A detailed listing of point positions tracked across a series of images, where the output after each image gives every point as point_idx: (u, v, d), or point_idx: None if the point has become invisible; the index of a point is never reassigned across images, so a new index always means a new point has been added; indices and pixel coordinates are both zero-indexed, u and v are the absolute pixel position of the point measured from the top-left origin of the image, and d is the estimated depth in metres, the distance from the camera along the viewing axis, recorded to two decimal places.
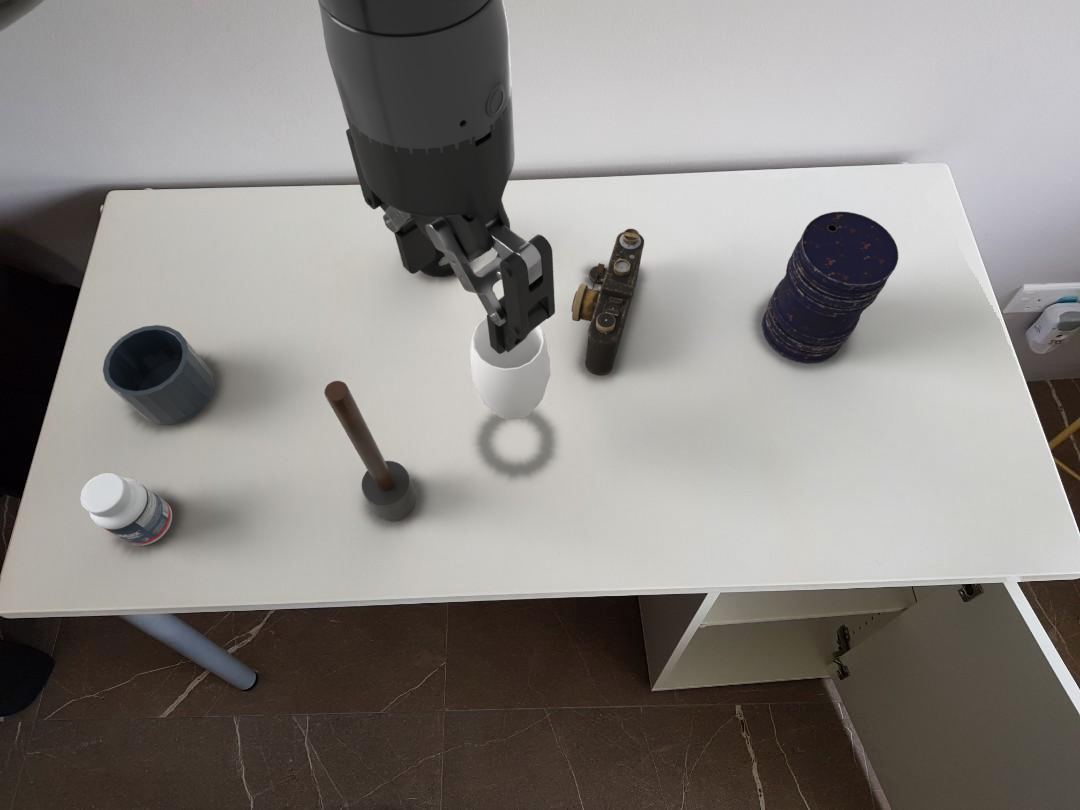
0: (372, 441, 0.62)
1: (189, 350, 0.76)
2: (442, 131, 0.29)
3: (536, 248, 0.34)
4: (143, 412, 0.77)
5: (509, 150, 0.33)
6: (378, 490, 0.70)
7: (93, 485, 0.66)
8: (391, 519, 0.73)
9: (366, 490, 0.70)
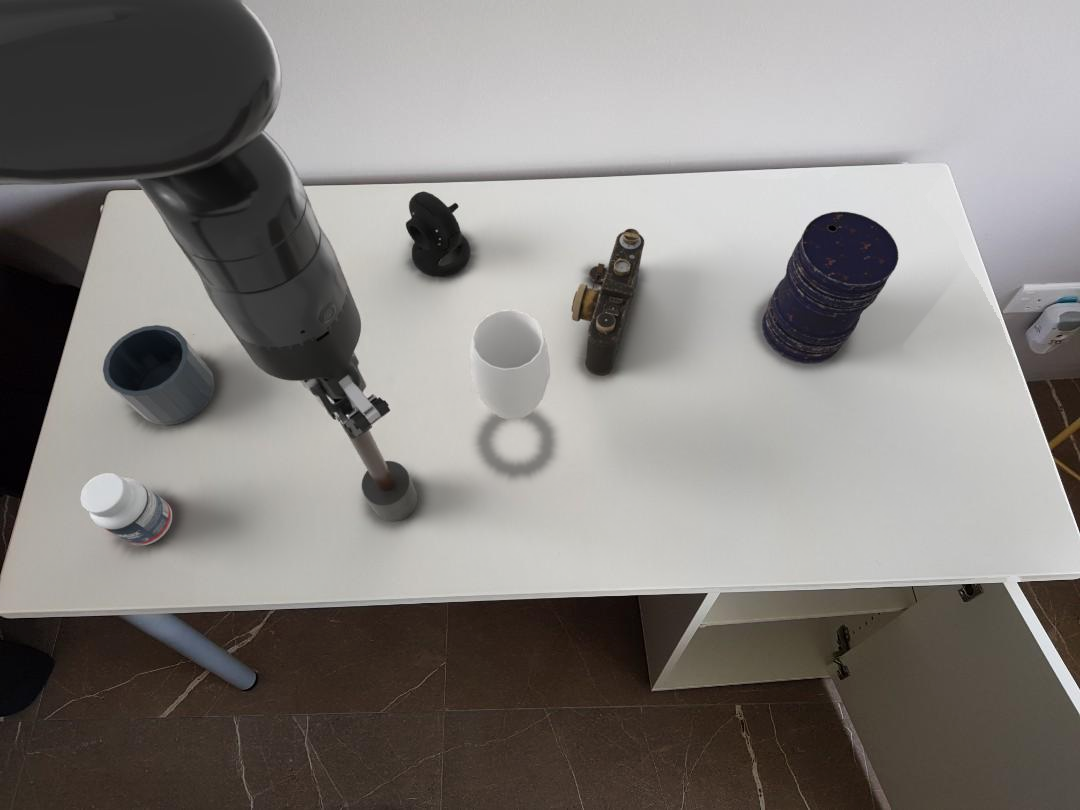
0: (372, 441, 0.62)
1: (189, 350, 0.76)
2: (288, 337, 0.41)
3: (379, 413, 0.48)
4: (143, 412, 0.77)
5: (350, 333, 0.45)
6: (378, 490, 0.70)
7: (93, 485, 0.66)
8: (391, 520, 0.73)
9: (366, 490, 0.70)
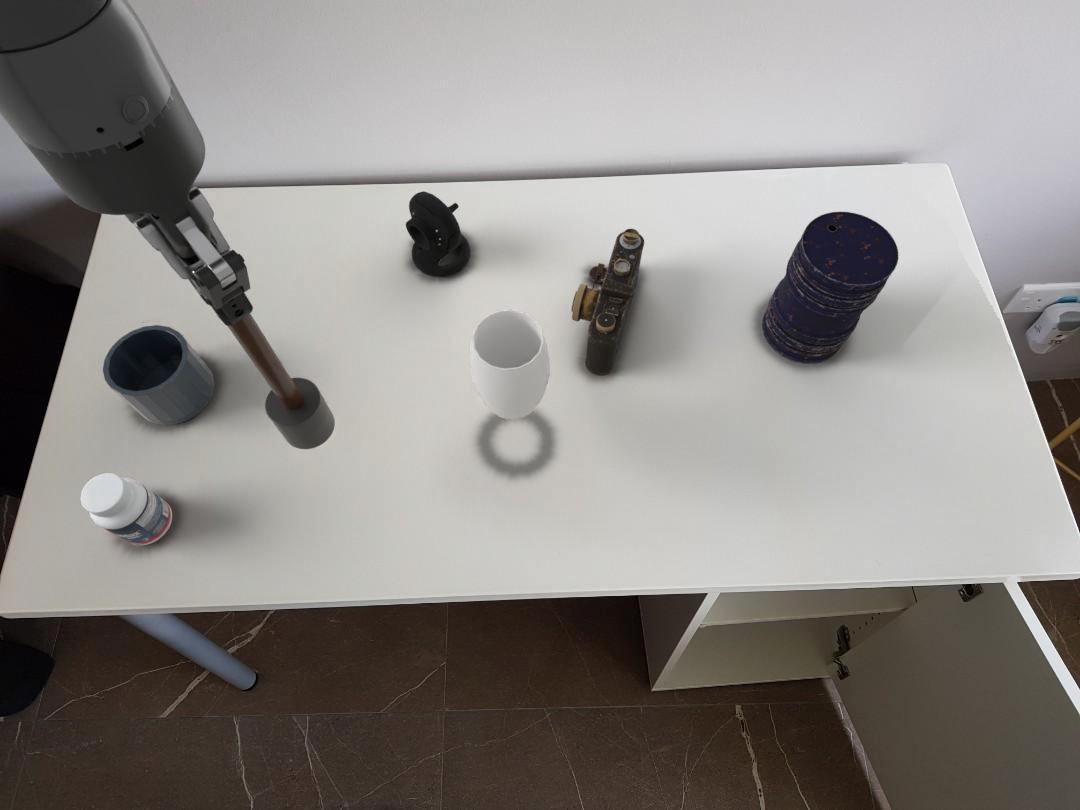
0: (261, 338, 0.53)
1: (189, 350, 0.76)
2: (80, 137, 0.32)
3: (230, 267, 0.39)
4: (143, 412, 0.77)
5: (183, 154, 0.36)
6: (283, 409, 0.61)
7: (93, 485, 0.66)
8: (303, 447, 0.64)
9: (269, 409, 0.61)
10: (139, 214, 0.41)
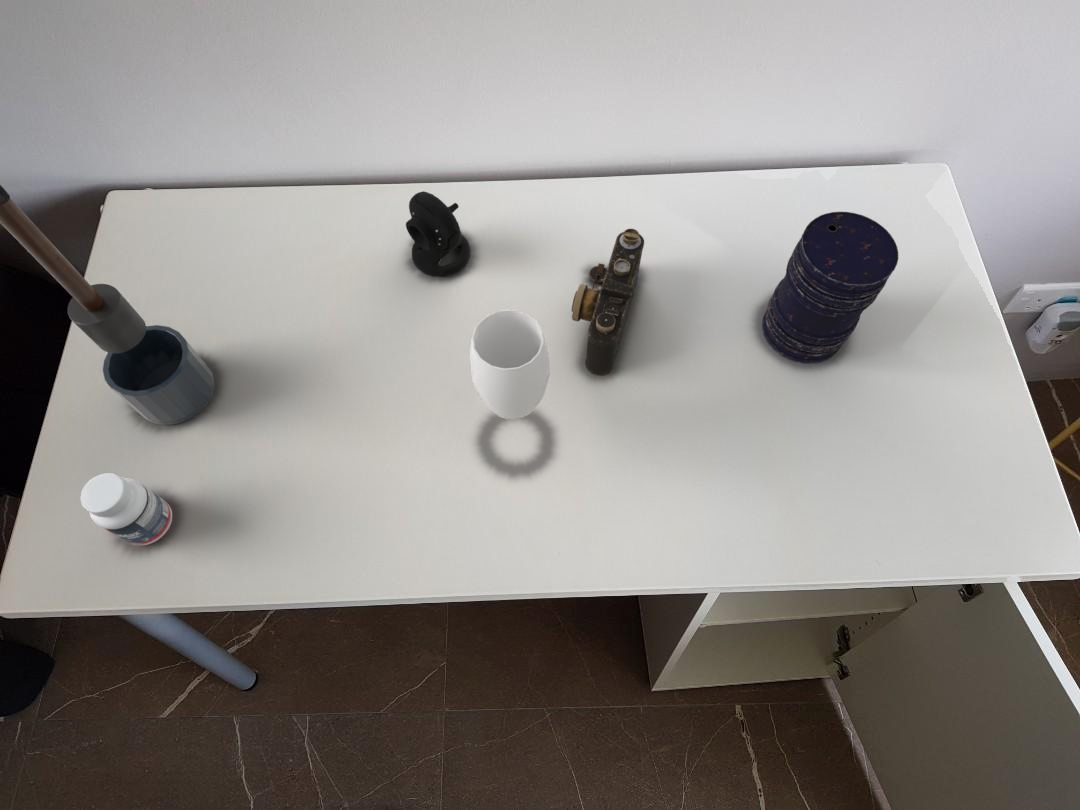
0: (34, 231, 0.57)
1: (189, 350, 0.76)
2: None
3: None
4: (143, 412, 0.77)
5: None
6: (84, 310, 0.66)
7: (93, 485, 0.66)
8: (112, 350, 0.69)
9: (71, 311, 0.66)
10: None
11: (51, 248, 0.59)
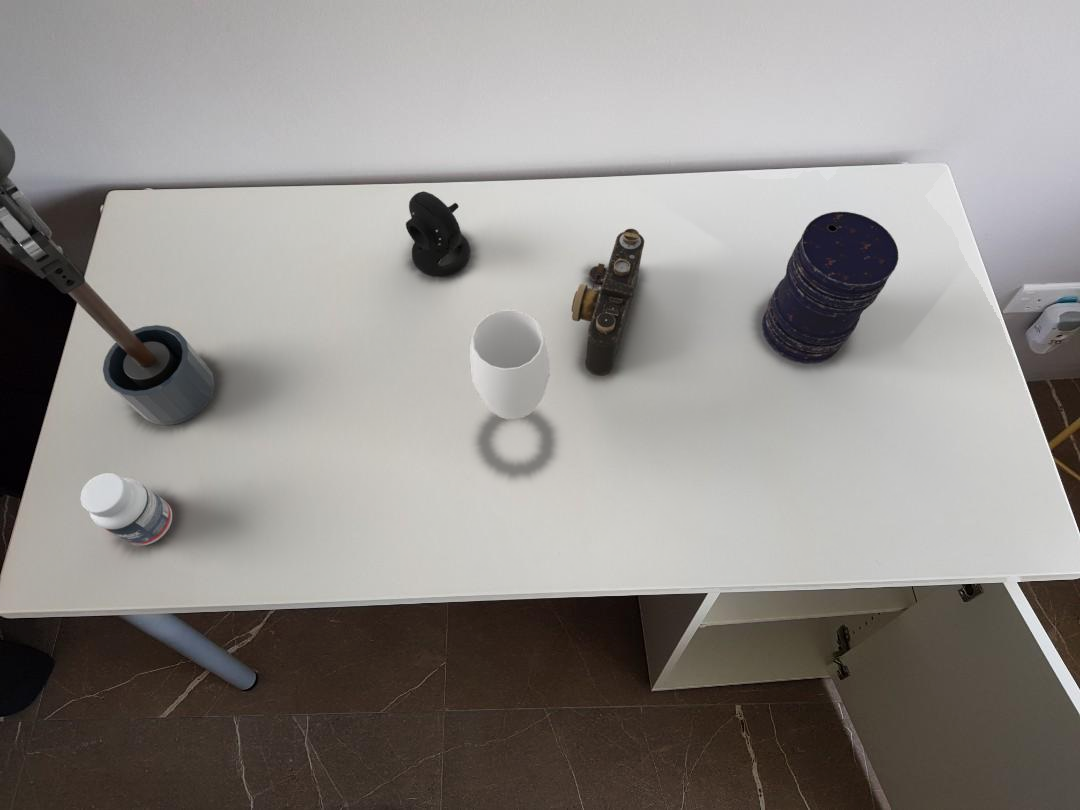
0: (101, 305, 0.66)
1: (189, 350, 0.76)
2: None
3: (36, 244, 0.52)
4: (143, 412, 0.77)
5: None
6: (138, 366, 0.75)
7: (93, 485, 0.66)
8: None
9: (126, 366, 0.75)
10: None
11: (114, 317, 0.68)
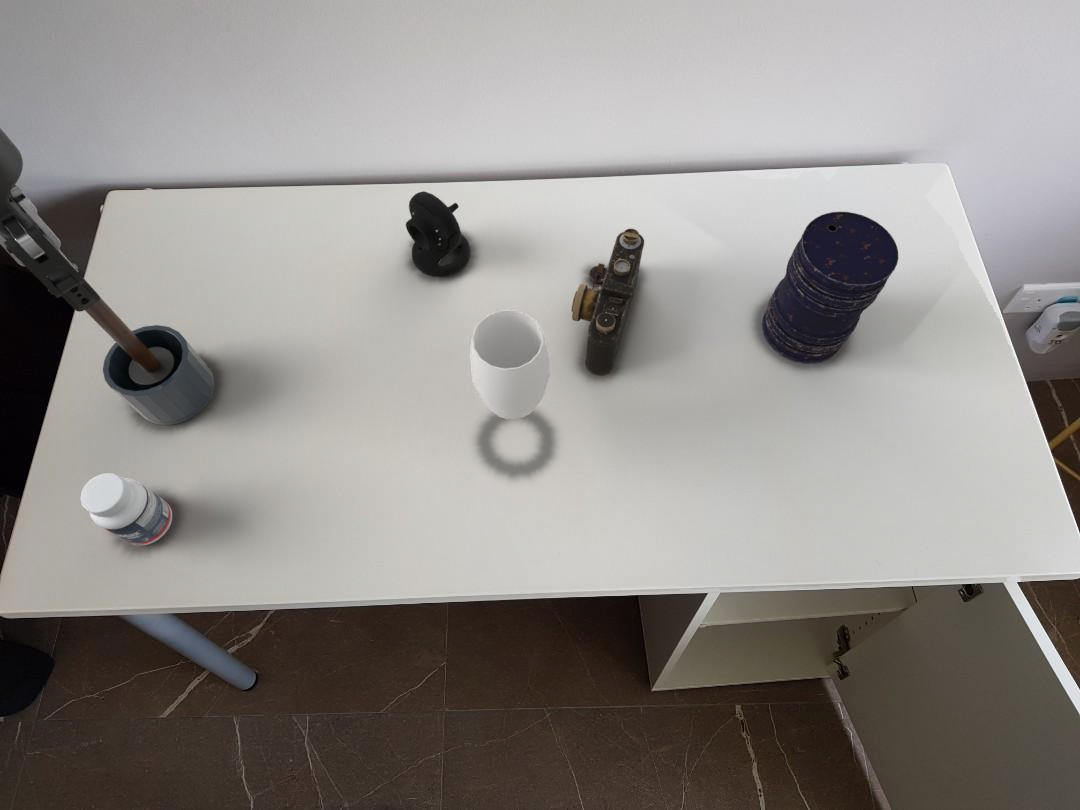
0: (108, 312, 0.67)
1: (189, 350, 0.76)
2: None
3: (28, 234, 0.51)
4: (143, 412, 0.77)
5: None
6: (143, 371, 0.76)
7: (93, 485, 0.66)
8: None
9: (132, 372, 0.76)
10: None
11: (120, 324, 0.69)
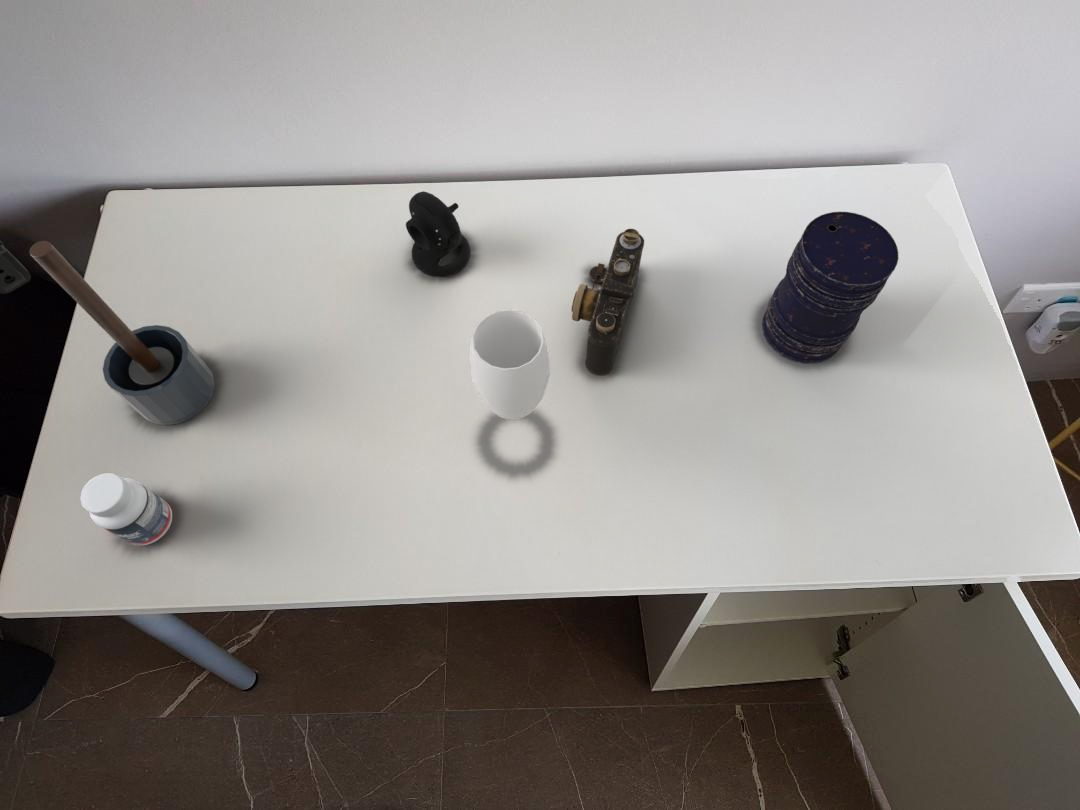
0: (108, 312, 0.67)
1: (189, 350, 0.76)
2: None
3: None
4: (143, 412, 0.77)
5: None
6: (143, 371, 0.76)
7: (93, 485, 0.66)
8: None
9: (132, 372, 0.76)
10: None
11: (120, 324, 0.69)
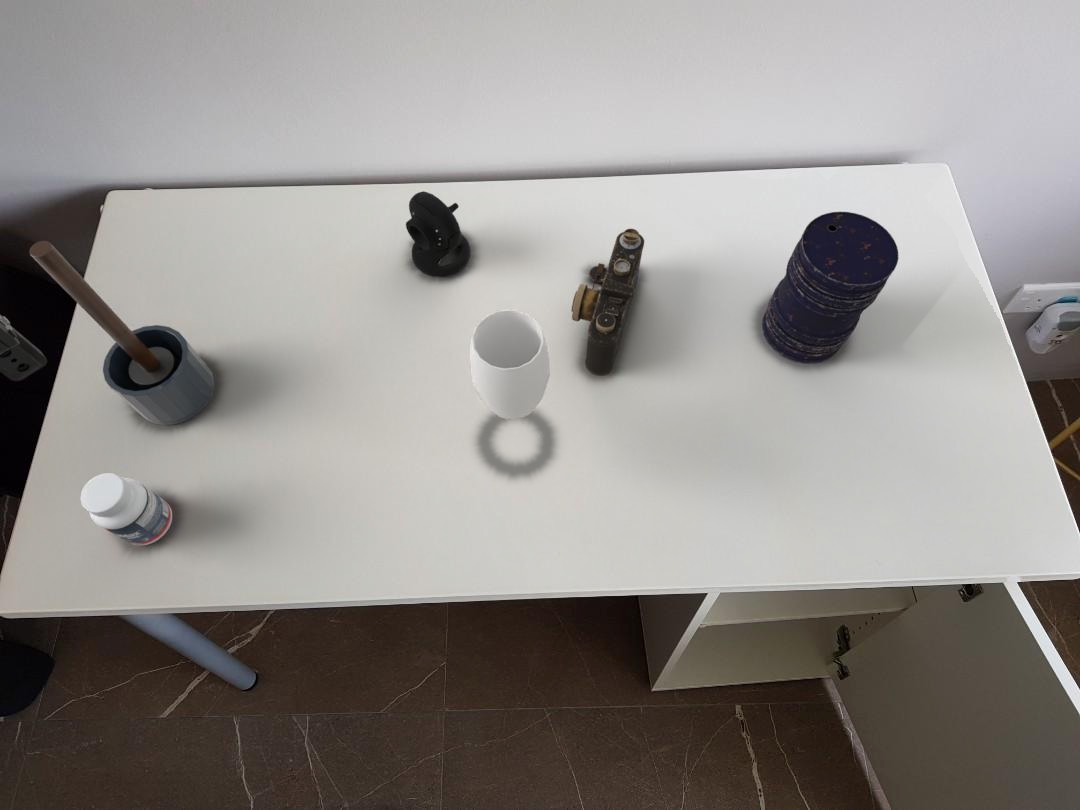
0: (108, 312, 0.67)
1: (189, 350, 0.76)
2: None
3: None
4: (143, 412, 0.77)
5: None
6: (143, 371, 0.76)
7: (93, 485, 0.66)
8: None
9: (132, 372, 0.76)
10: None
11: (120, 324, 0.69)
